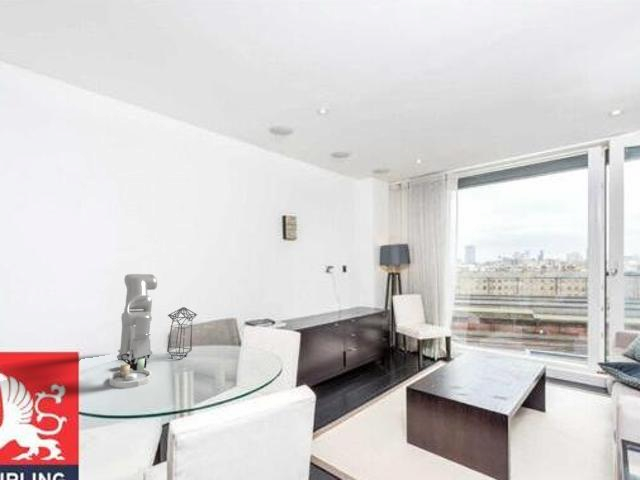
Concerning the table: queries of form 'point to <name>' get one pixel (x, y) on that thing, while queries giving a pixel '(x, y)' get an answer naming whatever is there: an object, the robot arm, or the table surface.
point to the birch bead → (124, 370)
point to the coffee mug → (128, 360)
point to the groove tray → (130, 379)
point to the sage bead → (140, 363)
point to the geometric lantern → (181, 330)
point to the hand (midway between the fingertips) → (139, 368)
